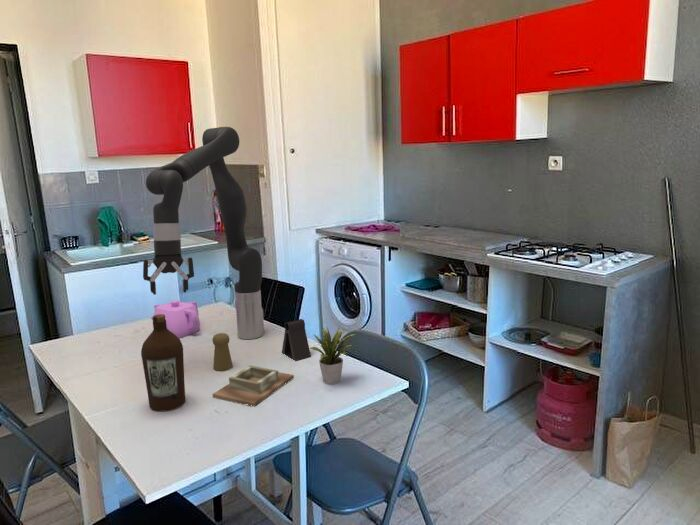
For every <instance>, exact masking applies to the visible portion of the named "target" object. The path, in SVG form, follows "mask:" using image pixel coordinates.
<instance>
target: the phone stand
mask: <svg viewBox="0 0 700 525" xmlns="http://www.w3.org/2000/svg"><path fill="white" fill-rule="evenodd" d="M306 331H307V330H306V323H305V320H304V319H302V318H299V319H298V318H297V319H294V320H290V321H286V322H285V323H284V335H283V340H282V341H283V342H282V346H281V347H282V348H281V349H282V350H281V353H283V354H282V355H284V354H285V355H286V356H285V355H284V356H285V357H287V356H288V357H287V358H289V359H290V358H291V360H292V359H293V360H292V361H294V360H295V361H294V362H297V361H300V360H304V359H307V358H311V357H312V356H311V349H310V345H309V340H308V337H307V332H306Z"/></svg>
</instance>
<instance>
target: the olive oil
mask: <svg viewBox="0 0 700 525" xmlns="http://www.w3.org/2000/svg"><path fill="white" fill-rule="evenodd" d="M152 316H153V320H152V329H153V330H152V332H151V333H150V334H149V335H148V336H147V337H146V339H145V340H144V341H143V343H142V347H141V350H140V356H141V361H142V362H141V363H142V366H143V372H144V379H145V385H146V391H147V392H146V393H147V398H148V406H149V408H150V409H151V410H153V411H156V412H166V411H172V410H175V409H178V408H180V407H182V406H183V405H184V404H185V402H186V388H185V387H186V386H185V365H184V346H183V343H182V341H181V338H178V337H177V336H176V335H175V334H173V333H172V332H171V331H169V330H168V329H167V325H166V319H165V315H164V314H158V315H152Z"/></svg>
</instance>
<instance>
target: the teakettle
mask: <svg viewBox="0 0 700 525" xmlns="http://www.w3.org/2000/svg"><path fill="white" fill-rule="evenodd" d="M153 308H154V315H158V314H164V315H165V319H166V325H167V329H168V330H169V331H171V332H172V333H173V334H175V335H176V336H177V337H178V338H179V339H183V338H185V337H188V336H190V335H193V334H195V333H198V332H199V331H200V328H201V321H200V317H199V315H200V314H199V310H198V309H199V308H198V303H197V301H189V302H185V301H184V302H183V301H180V300H177V299H176V300H175V299H174V300H171V301H170V302H168V303H164V304H162V305H160V304H156V305H153ZM154 315H152V316H151V317H150V319H151V320H152V321H153V316H154Z"/></svg>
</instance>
